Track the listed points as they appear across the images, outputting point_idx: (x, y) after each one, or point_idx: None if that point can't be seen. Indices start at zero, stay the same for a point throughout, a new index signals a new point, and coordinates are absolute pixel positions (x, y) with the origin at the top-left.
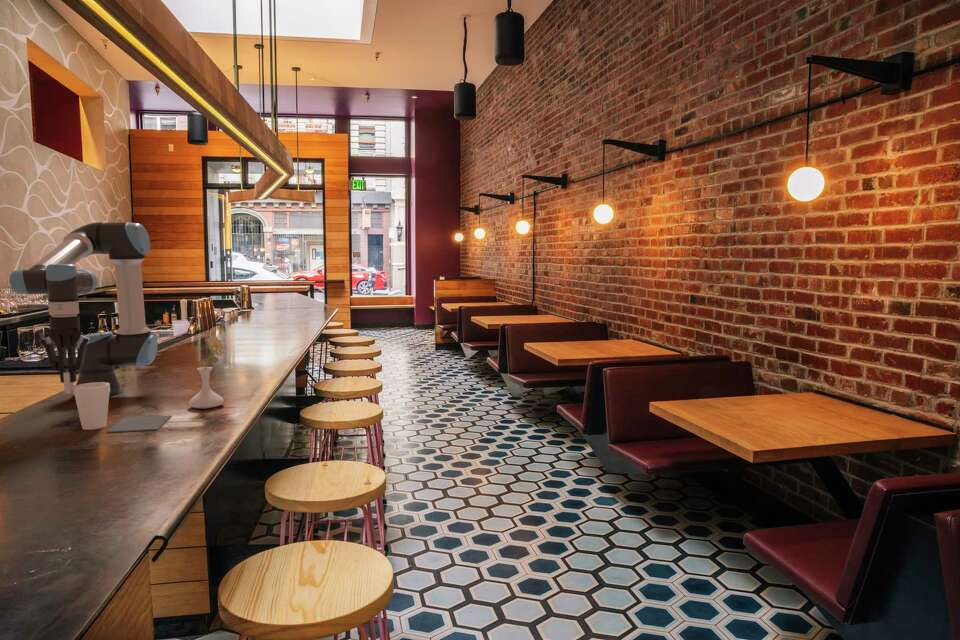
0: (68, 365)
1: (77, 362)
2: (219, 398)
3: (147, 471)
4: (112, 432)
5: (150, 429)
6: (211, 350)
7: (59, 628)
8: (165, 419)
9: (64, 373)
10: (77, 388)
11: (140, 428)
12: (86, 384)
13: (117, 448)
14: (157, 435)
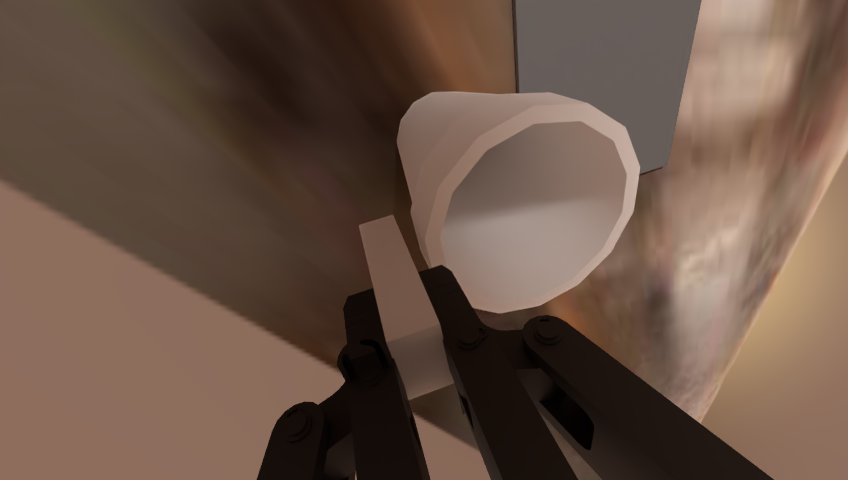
0: (479, 449)
1: (586, 445)
2: None
3: (660, 379)
4: None
5: (647, 171)
6: None
7: None
8: (689, 24)
9: (416, 390)
10: (491, 311)
11: None
12: (466, 168)
13: (593, 312)
14: (665, 213)
